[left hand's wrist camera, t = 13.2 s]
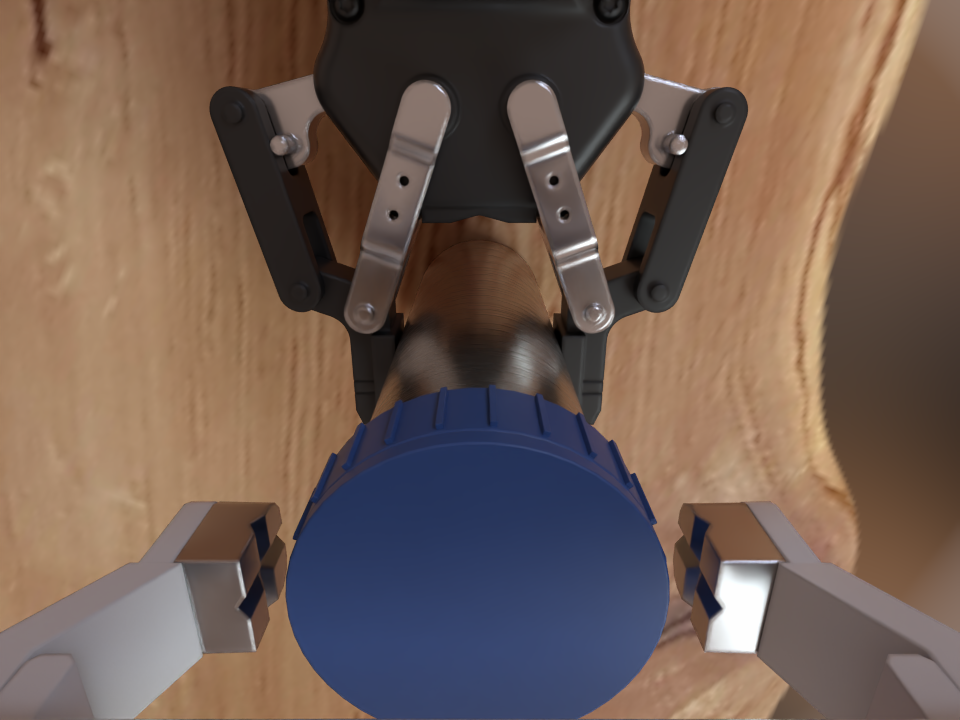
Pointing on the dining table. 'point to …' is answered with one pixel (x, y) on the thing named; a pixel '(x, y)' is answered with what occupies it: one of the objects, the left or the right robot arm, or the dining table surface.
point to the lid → (477, 563)
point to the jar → (478, 331)
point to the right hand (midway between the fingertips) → (479, 428)
